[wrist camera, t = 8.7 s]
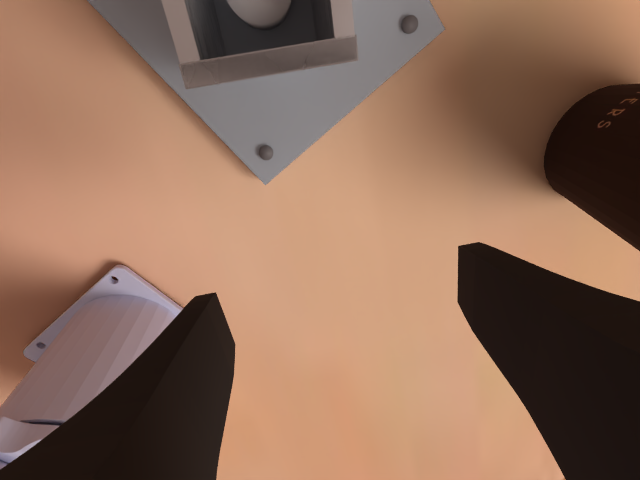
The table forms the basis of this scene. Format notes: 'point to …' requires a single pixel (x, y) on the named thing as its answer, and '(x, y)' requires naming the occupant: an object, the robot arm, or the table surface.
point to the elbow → (216, 67)
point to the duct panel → (287, 88)
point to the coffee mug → (600, 158)
